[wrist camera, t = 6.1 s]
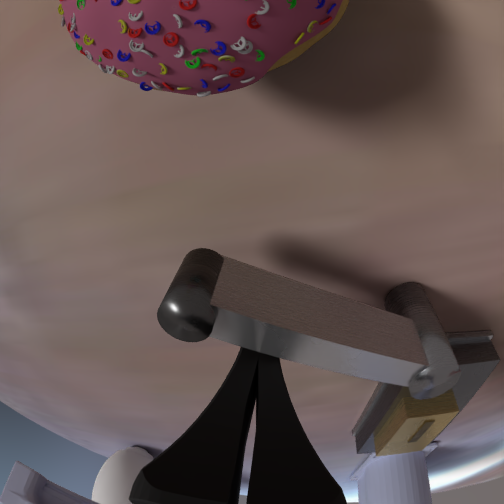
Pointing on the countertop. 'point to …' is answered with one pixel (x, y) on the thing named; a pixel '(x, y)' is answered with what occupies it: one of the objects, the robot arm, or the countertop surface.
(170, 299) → the lever
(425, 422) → the yellow slotted box
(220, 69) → the cupcake
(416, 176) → the countertop surface
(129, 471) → the sauce bottle
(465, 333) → the grey rectangular plate
